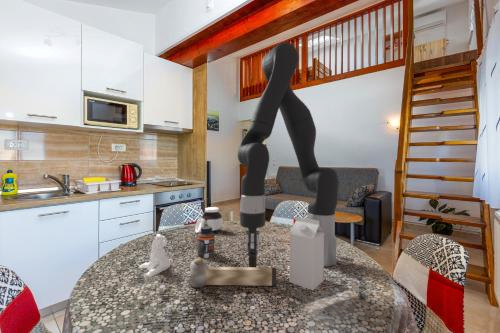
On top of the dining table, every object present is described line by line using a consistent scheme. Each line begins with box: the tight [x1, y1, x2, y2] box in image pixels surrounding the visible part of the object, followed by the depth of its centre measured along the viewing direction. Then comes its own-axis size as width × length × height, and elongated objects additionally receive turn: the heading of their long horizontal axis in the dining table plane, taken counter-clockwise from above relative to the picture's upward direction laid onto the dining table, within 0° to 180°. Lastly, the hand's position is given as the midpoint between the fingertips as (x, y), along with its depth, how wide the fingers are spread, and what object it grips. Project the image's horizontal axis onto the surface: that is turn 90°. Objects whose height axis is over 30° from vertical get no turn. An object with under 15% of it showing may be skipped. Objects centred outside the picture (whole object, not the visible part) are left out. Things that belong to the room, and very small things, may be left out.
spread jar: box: [194, 206, 223, 234], centre depth 119 cm, size 12×11×12 cm
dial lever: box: [189, 257, 277, 288], centre depth 65 cm, size 23×4×6 cm, turn 89°
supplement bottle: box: [197, 226, 216, 259], centre depth 86 cm, size 6×6×11 cm
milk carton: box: [288, 216, 324, 291], centre depth 67 cm, size 7×7×19 cm
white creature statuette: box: [139, 233, 172, 278], centre depth 75 cm, size 10×9×12 cm
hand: (252, 267), depth 71 cm, fingers closed
